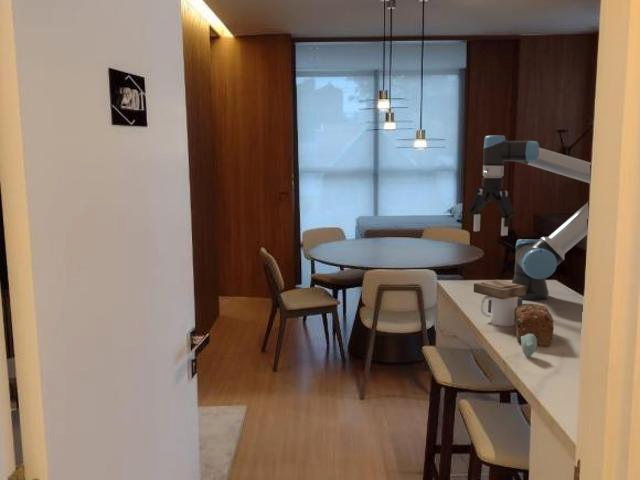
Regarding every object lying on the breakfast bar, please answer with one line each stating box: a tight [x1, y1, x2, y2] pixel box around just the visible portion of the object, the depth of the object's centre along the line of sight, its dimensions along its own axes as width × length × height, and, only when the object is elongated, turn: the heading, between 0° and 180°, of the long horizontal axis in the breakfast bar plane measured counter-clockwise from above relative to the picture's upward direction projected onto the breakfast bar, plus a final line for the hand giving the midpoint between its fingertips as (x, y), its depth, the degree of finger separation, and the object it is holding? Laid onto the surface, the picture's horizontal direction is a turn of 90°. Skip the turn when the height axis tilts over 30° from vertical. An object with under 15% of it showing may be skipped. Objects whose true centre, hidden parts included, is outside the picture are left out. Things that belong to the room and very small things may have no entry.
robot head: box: [520, 334, 538, 358], centre depth 171 cm, size 8×4×7 cm, turn 177°
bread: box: [514, 303, 555, 348], centre depth 189 cm, size 19×11×10 cm, turn 165°
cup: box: [479, 295, 518, 327], centre depth 205 cm, size 8×12×10 cm
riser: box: [487, 297, 524, 313], centre depth 219 cm, size 11×6×5 cm, turn 123°
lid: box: [473, 279, 526, 299], centre depth 204 cm, size 12×12×3 cm
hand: (490, 233), depth 230 cm, fingers open, 13 cm apart
